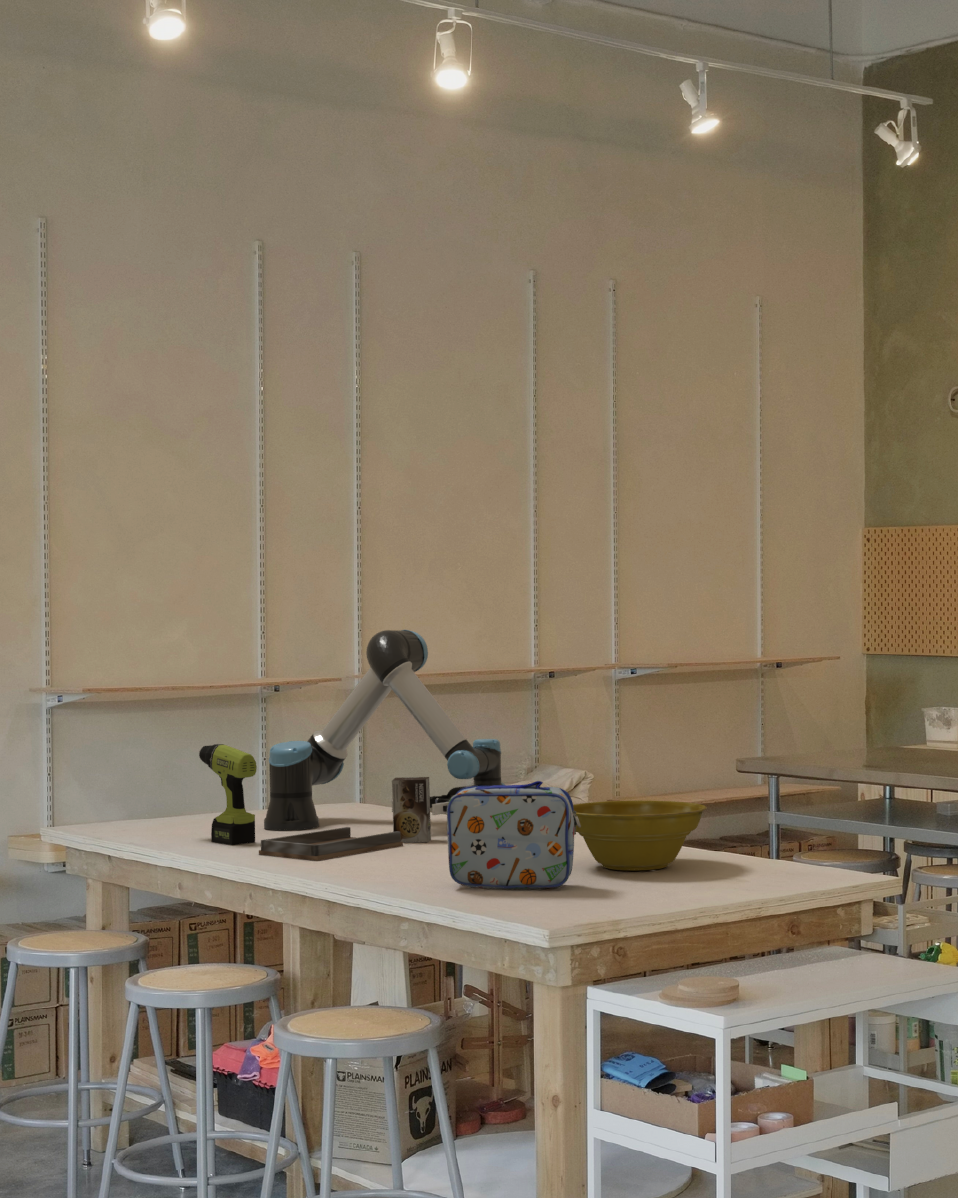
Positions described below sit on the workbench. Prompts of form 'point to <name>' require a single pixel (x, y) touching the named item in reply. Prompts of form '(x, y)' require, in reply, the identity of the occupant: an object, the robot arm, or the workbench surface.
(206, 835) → the workbench surface
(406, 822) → the coffee box
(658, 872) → the workbench surface
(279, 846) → the brown tray
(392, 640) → the robot arm
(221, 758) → the cordless drill
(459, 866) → the lunch box
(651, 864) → the planter bowl
